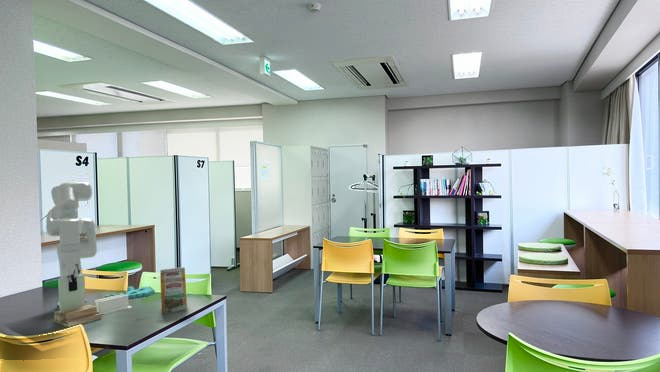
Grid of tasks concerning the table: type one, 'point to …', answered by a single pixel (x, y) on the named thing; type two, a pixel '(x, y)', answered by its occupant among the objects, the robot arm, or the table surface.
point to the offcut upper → (79, 311)
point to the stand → (112, 304)
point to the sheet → (71, 294)
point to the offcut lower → (76, 318)
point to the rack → (78, 321)
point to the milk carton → (173, 290)
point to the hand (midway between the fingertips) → (72, 290)
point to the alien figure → (136, 292)
